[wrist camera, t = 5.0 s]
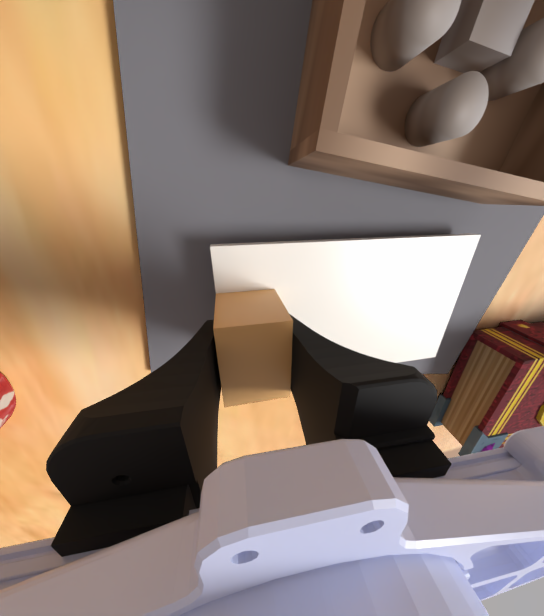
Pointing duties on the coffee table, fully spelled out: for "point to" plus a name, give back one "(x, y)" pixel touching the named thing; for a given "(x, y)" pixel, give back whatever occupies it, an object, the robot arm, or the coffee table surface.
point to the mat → (260, 166)
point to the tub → (426, 97)
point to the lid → (330, 302)
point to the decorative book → (495, 387)
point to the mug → (6, 400)
